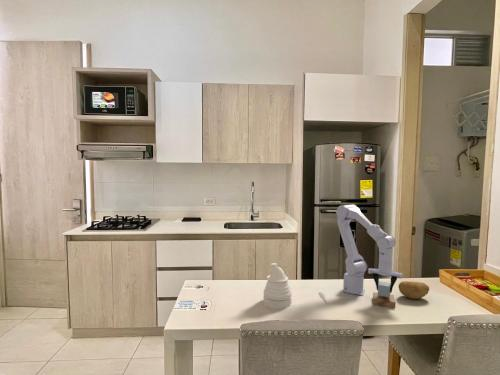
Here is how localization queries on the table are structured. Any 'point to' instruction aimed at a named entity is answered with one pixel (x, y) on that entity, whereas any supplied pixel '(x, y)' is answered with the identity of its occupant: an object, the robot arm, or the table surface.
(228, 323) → the table surface
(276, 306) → the honey pot
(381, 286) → the cube
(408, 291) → the potato
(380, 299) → the walnut block
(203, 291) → the table surface
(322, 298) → the butter knife
